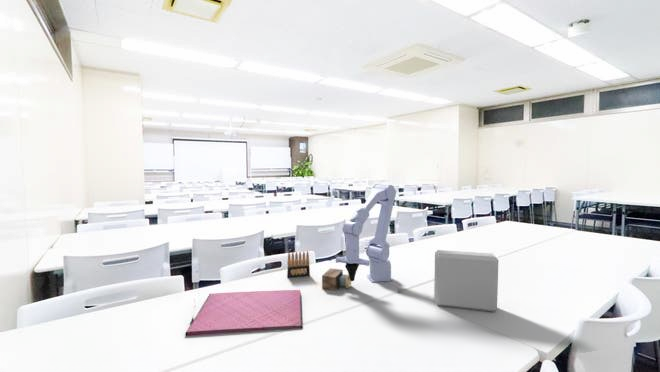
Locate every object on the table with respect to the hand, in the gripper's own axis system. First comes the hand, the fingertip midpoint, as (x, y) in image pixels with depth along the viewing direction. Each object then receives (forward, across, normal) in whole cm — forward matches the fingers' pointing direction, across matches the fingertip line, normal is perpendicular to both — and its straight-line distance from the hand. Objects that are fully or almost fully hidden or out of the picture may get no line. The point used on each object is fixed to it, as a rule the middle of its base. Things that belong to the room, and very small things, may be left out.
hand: (352, 280), depth 130 cm
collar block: (+3, -9, 0) cm, 10 cm away
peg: (+3, -6, 0) cm, 7 cm away
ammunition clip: (+4, -28, +5) cm, 29 cm away
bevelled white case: (+4, +44, -2) cm, 44 cm away
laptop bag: (+4, -30, -34) cm, 46 cm away
